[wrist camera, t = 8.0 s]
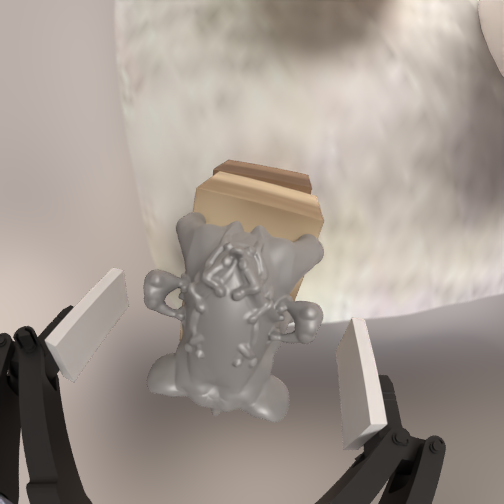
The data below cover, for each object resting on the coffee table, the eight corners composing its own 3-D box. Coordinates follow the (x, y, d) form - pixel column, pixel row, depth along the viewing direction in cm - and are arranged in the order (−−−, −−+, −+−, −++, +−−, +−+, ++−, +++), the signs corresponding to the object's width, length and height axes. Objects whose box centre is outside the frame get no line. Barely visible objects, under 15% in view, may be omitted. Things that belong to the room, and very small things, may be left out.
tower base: (228, 159, 23) (213, 169, 19) (308, 174, 23) (311, 187, 18) (215, 274, 29) (201, 302, 24) (280, 288, 28) (277, 319, 24)
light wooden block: (219, 171, 19) (196, 187, 14) (316, 196, 18) (323, 221, 14) (198, 302, 24) (179, 340, 20) (272, 322, 24) (267, 364, 20)
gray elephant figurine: (316, 191, 14) (335, 248, 7) (326, 359, 18) (329, 452, 11) (158, 214, 16) (73, 272, 9) (206, 361, 20) (174, 441, 13)
